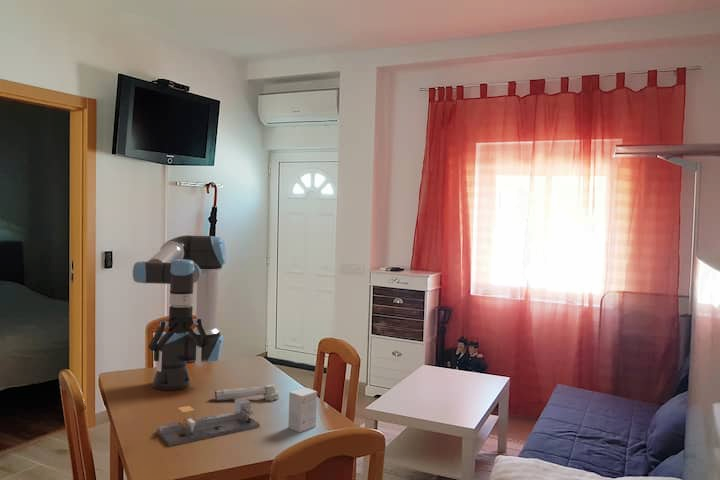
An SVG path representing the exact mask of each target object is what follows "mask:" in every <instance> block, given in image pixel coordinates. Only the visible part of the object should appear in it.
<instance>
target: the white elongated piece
mask: <svg viewBox="0 0 720 480" xmlns="http://www.w3.org/2000/svg"><path fill="white" fill-rule="evenodd" d="M279 393H280V391H279V390H278V389H277V385H275V384H274V383H272V384H266V385H264V386H253V387H243V388H240V387H239V388H229V389H226V388H223V389H222V390H215V391H214V398H215V399H214V400H215V402H217V401H218V402H220V401H225V402H226V401H227V400H228V401H229V400H236V399H242V398H247V397H253V396H261V395H262V396H263V397H264V401H267V402H268V401H269V402H273V401H274V400H278V399H279Z"/></svg>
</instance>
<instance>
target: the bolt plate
mask: <svg viewBox="0 0 720 480" xmlns="http://www.w3.org/2000/svg"><path fill="white" fill-rule="evenodd" d="M251 403H252V402H251V401H250V400H249V399H247V397H242V398H235V399H234V411H233V412H227V413H221V414H216V415H211V416H205V417H201V418H194V421H195V426H194V432H191V426H190V425H189V424H186V425H182V424H181V423H180V422H179V421H178V422H174V423H168V424H164V425H159V428H156V429H155V433H156V434H157V435H158V436H159V437H160V438H161V440H162V441H163V442H164V443H165V444H166V445H167V446H168V447H173V446H177V445H178V446H179V445H184V444H188V443H192V442H196V441H201V440H206V439H211V438H215V437H220V436H225V435H229V434H235V433H238V432H243V431H248V430H253V429H257V428H260V427H261V426H260V423H259V422H258V421H257V420H255V419H253V417H252V415H254V413H253V410H252V409H251V408H252V407H251V406H252V405H251Z"/></svg>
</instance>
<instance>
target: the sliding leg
mask: <svg viewBox="0 0 720 480" xmlns="http://www.w3.org/2000/svg"><path fill="white" fill-rule="evenodd" d="M195 411H196V410H195V409H194V408H193V407H191V406H190V405H187V406H179V407H177V421H178V422H180V423H181V424H182V425H186V424H189V425H190V426H191V432H194V426H195V421H194V419H195V414H196V413H195Z"/></svg>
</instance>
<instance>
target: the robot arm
mask: <svg viewBox="0 0 720 480" xmlns="http://www.w3.org/2000/svg"><path fill="white" fill-rule="evenodd" d="M226 251H227V250H226V244H225V242H224V238H222V237H220V236H213V235H180V236H177V237H174V238H171V239H169V240H167V241H165V242H164V243H163V244H162V245H161V247H160V250H159V251H158V252H157V253H156V254H154V255H153V256H152V257H151V258H150V259H149V260H147V261H144V260H143V261H136V262H135V263H134V265H133V267H132V279H133V281H134V282H135V283H138V284H139V283H140V284H143V285H144V284H156V285H157V284H159V285H160V284H162V285H163V284H164V285H165V284H166V285H169V301H168V302H169V305H170V306H169V307H168V320H167V321H163V320H160V321H158V327H157V329H156V331H155V332H154V335H153V336H152V338H151V340H150V342H149V345H148V346H147V348H148V350H150V351H153V360H154V361H155V362H156V363H155V366H156V367H155V370H156V371H155V374H154V376H153V379H152V387H153V388H154V389H156V390H160V391H176V390H178V391H179V390H183V389H185V388H187V387H189V386H190V384H191V378H190V375H189V371H188V367H187V362H190V363H191V362H192V363H193V362H194V363H195V365H196V366H197V367H201V366H202V363H215V362H218V361H219V360H220V359H221V358H220V357H221V354H222V351H223V346H224V335H223V334H221V330H220V328H219V327H218V326H217V325H218V322H217V321H218V320H217V319H218V294H219V293H218V290H219V289H218V288H219V287H218V286H219V272H220V271H221V270H222V269H223V266H224V265H225V264H226V261H227V252H226ZM195 283H196V307H195V308H196V310H195V318H193V308H194V307H193V306H192V305H193V304H194V300H193V299H194V284H195ZM193 325H195V327H194V328H192V326H193ZM167 326H168V329H167V330H166V331H165V329H166V328H167ZM164 331H165V332H164Z"/></svg>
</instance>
